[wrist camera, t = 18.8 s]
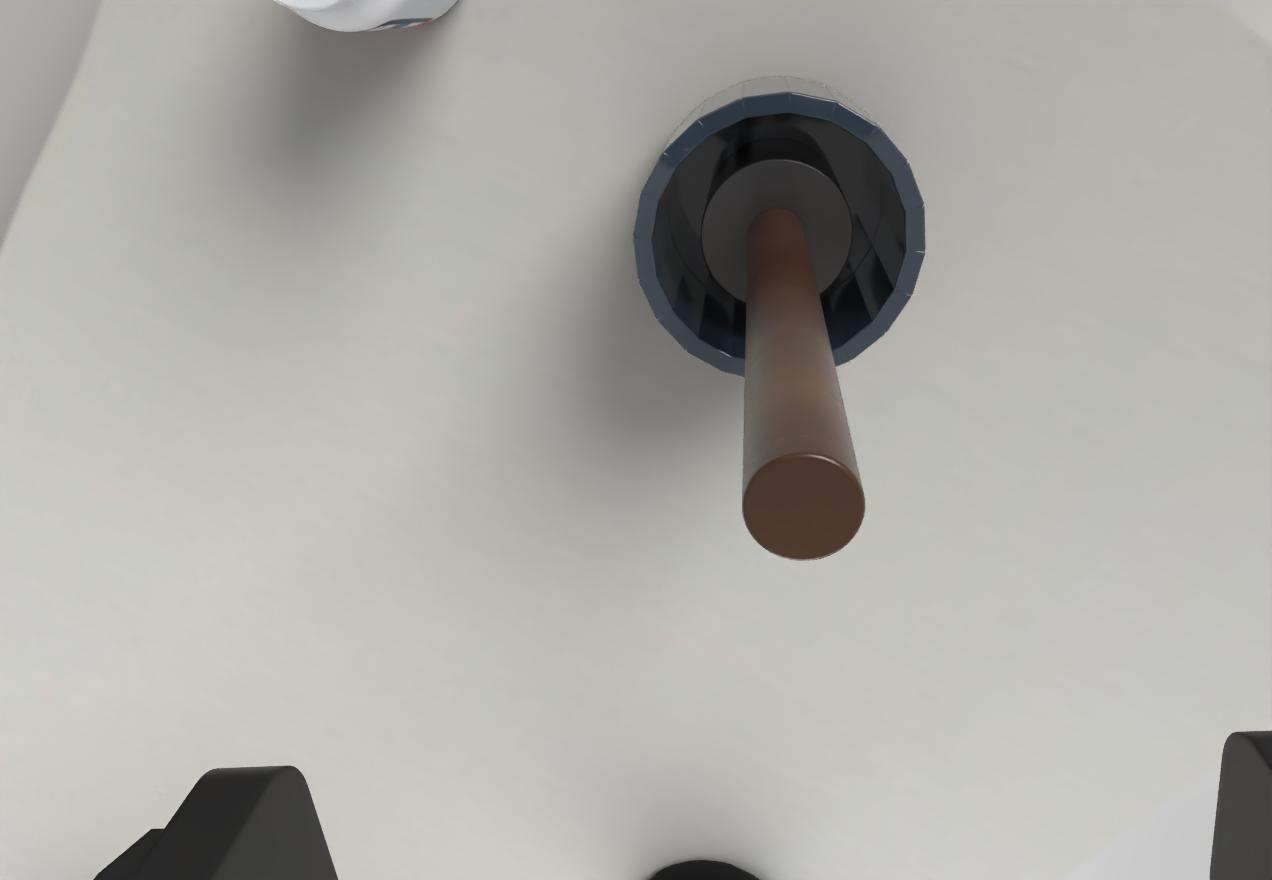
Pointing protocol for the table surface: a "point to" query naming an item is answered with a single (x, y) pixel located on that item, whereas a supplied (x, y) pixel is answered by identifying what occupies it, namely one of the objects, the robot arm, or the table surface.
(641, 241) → the gray open cylinder
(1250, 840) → the robot arm
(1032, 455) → the table surface
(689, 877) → the webcam
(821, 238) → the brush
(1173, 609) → the table surface
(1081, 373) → the table surface
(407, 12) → the pill bottle
